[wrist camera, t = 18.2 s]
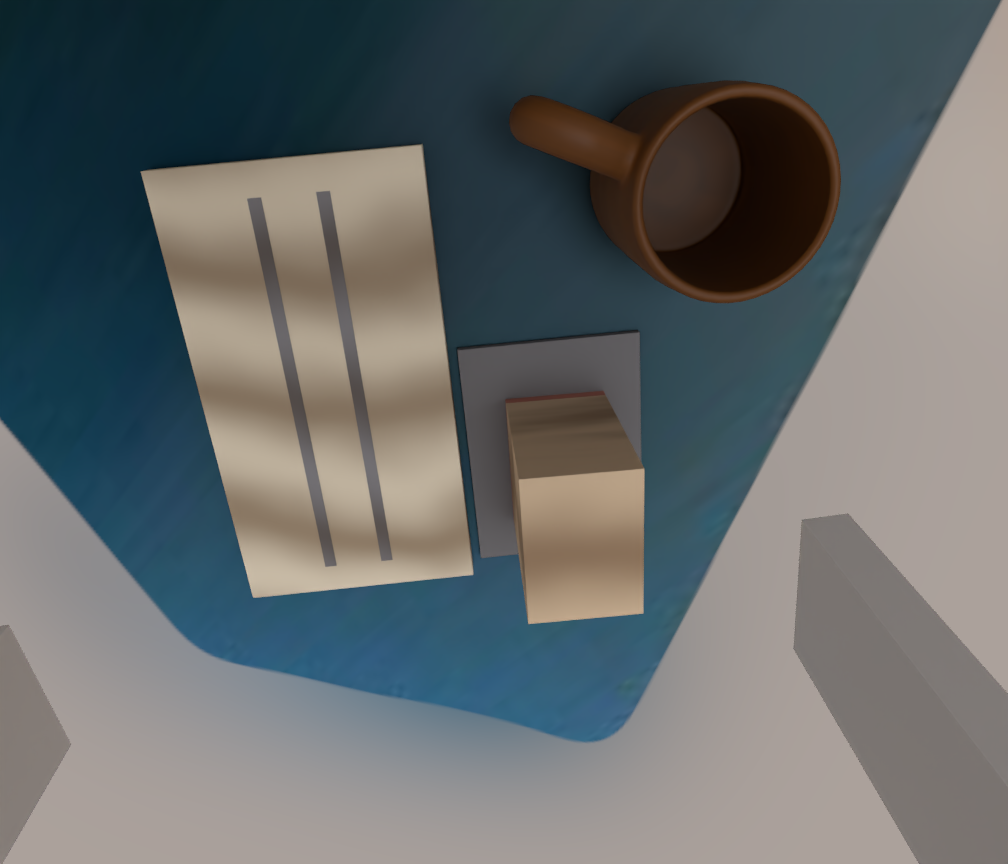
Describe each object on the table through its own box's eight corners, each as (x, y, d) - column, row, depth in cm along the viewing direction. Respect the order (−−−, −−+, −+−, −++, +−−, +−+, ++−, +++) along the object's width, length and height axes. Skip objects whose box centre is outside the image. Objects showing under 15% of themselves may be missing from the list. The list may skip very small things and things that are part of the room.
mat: (457, 348, 37) (457, 350, 37) (637, 329, 37) (639, 332, 37) (480, 554, 42) (481, 557, 41) (640, 537, 42) (642, 541, 42)
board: (151, 169, 33) (140, 171, 32) (422, 143, 33) (421, 145, 32) (258, 584, 42) (253, 598, 41) (472, 562, 42) (473, 575, 41)
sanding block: (505, 399, 38) (518, 479, 30) (603, 390, 38) (644, 468, 30) (513, 519, 41) (528, 623, 32) (605, 511, 41) (643, 613, 32)
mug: (472, 197, 34) (477, 225, 26) (530, 20, 32) (558, -15, 23) (705, 282, 36) (782, 335, 28) (778, 123, 34) (888, 127, 25)
